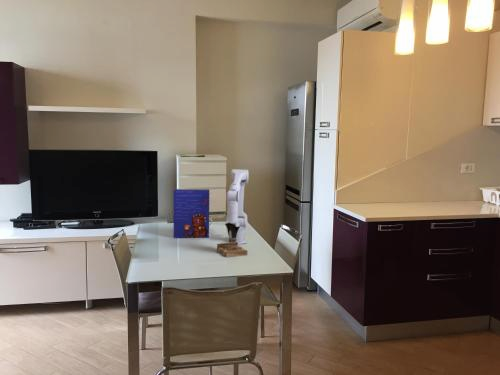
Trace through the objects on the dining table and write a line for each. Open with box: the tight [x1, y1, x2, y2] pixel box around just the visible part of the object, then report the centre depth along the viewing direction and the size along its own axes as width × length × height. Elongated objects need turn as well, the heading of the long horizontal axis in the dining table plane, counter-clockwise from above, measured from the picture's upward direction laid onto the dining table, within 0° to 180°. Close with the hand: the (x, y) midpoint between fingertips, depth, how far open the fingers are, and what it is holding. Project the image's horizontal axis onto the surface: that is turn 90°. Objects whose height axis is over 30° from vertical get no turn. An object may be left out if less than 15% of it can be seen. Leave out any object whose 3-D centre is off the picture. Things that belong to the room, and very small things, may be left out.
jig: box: [216, 242, 248, 258], centre depth 241 cm, size 14×12×4 cm
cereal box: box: [173, 188, 210, 239], centre depth 273 cm, size 22×6×30 cm, turn 96°
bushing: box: [228, 230, 236, 243], centre depth 241 cm, size 4×4×6 cm
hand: (232, 237), depth 241 cm, fingers closed on bushing, 4 cm apart
